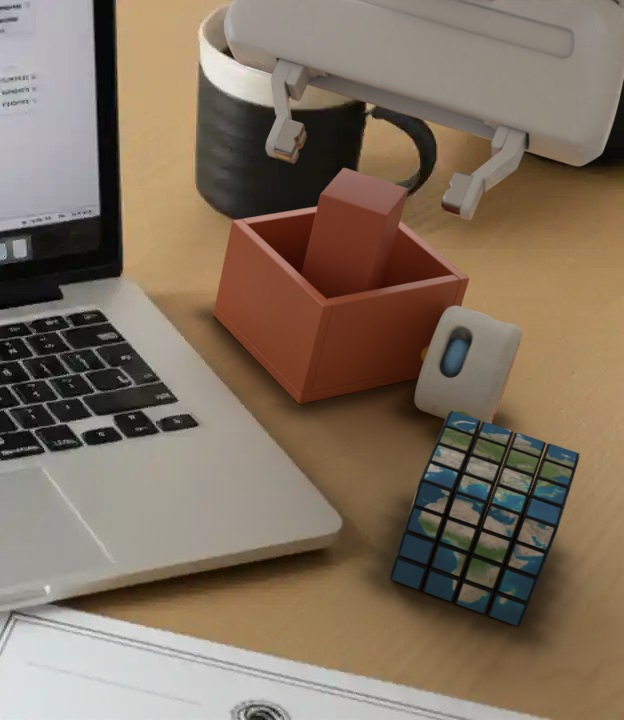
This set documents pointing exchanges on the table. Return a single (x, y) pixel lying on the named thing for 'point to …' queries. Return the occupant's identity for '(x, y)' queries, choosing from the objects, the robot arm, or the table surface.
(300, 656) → the table surface
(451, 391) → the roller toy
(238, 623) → the table surface
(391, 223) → the terracotta block
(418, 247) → the terracotta bin
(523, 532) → the puzzle
